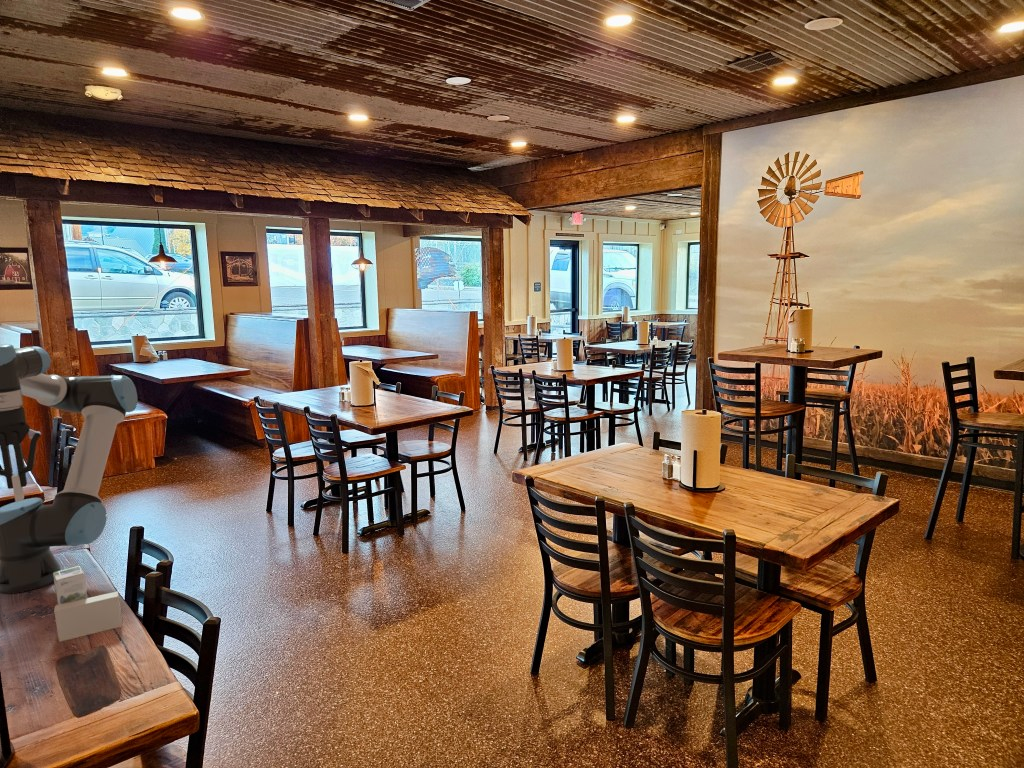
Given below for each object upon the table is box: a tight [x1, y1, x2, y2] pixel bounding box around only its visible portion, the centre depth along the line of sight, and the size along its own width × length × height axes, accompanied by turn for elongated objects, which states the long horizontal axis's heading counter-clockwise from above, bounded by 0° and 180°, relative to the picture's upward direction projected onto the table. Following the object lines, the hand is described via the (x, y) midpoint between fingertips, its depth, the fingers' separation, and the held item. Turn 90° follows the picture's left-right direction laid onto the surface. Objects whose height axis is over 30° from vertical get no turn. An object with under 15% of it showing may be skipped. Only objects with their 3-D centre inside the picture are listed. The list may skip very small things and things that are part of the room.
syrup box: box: [53, 565, 88, 605], centre depth 164 cm, size 6×6×14 cm
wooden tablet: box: [55, 644, 122, 717], centre depth 143 cm, size 26×2×10 cm
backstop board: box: [53, 590, 123, 643], centre depth 162 cm, size 3×13×8 cm, turn 120°
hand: (19, 499), depth 167 cm, fingers closed
